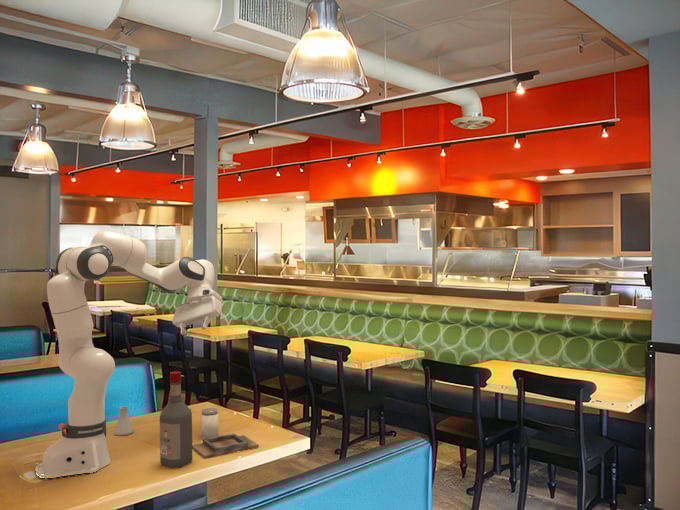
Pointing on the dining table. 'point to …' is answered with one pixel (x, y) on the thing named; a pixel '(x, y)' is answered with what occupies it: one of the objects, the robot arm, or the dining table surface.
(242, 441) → the locating board
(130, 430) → the flask
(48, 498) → the dining table surface
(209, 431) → the spice jar
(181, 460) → the liquor
